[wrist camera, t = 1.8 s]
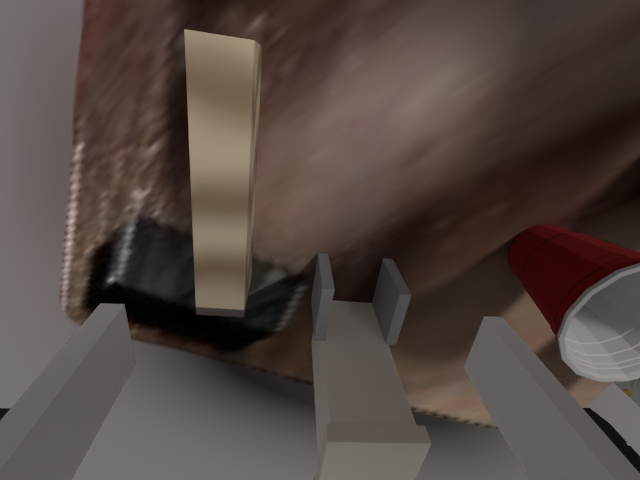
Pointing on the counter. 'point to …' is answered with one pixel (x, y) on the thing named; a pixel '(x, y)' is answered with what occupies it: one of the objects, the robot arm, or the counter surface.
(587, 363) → the plastic cup
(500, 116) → the counter surface
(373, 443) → the grey forked bracket
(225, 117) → the rail
